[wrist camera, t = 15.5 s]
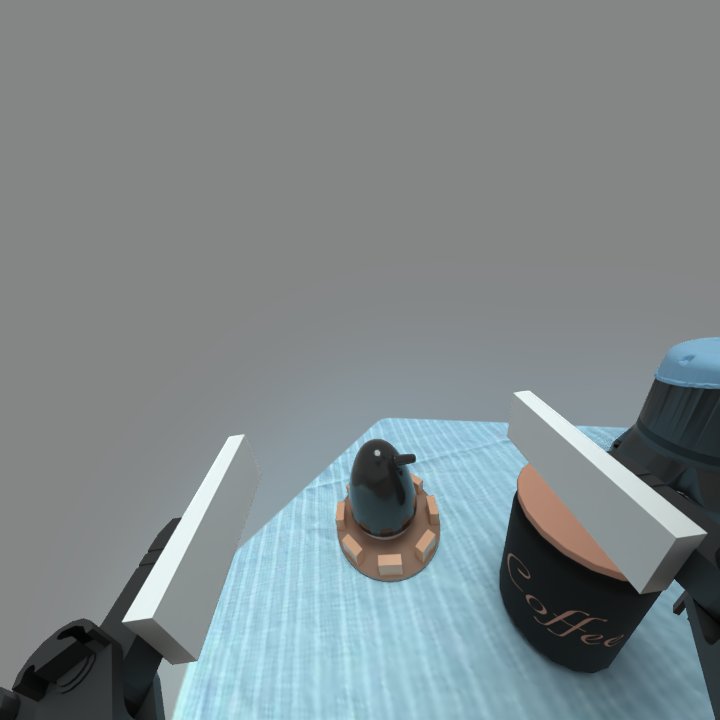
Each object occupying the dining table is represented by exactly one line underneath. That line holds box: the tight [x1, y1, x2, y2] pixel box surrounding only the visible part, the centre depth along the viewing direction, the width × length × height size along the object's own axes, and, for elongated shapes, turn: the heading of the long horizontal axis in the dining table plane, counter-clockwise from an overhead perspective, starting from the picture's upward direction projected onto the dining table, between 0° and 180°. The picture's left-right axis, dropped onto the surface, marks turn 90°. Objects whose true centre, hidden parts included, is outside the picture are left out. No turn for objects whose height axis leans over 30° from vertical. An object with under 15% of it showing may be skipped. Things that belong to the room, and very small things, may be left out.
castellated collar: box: [336, 473, 440, 582], centre depth 40 cm, size 16×16×3 cm
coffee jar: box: [500, 463, 662, 673], centre depth 26 cm, size 11×11×18 cm
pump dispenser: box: [349, 439, 417, 540], centre depth 37 cm, size 10×10×15 cm
